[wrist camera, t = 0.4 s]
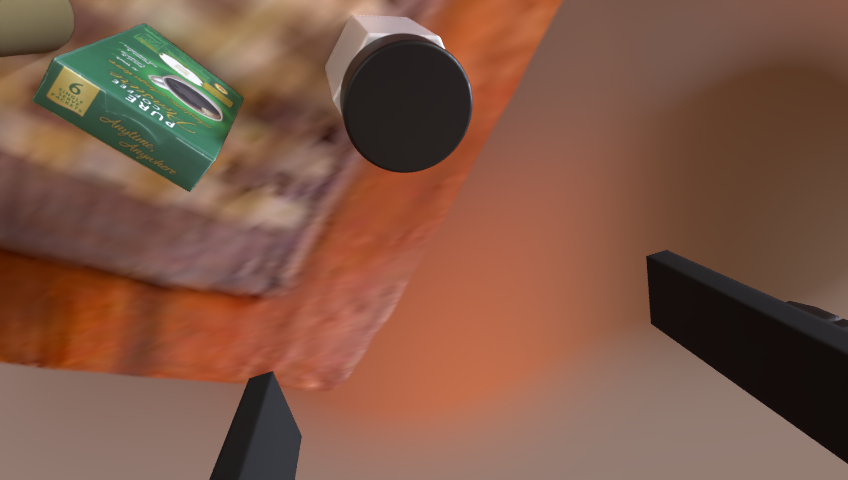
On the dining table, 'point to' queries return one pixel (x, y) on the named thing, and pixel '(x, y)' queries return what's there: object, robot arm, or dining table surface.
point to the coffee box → (143, 102)
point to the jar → (398, 92)
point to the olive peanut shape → (34, 26)
